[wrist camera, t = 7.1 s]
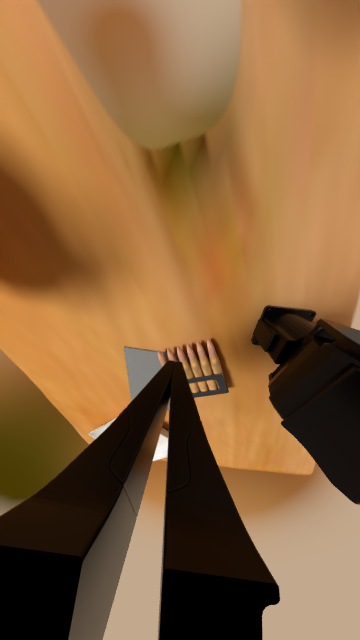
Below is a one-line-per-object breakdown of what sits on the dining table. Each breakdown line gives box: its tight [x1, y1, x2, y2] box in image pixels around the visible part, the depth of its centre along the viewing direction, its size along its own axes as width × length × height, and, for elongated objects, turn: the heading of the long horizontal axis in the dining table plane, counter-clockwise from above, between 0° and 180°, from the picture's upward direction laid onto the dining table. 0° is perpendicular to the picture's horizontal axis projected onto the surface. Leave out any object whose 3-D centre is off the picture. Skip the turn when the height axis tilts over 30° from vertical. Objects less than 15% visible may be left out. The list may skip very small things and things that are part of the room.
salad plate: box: [89, 417, 168, 461], centre depth 39 cm, size 21×21×3 cm
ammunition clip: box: [158, 339, 229, 398], centre depth 25 cm, size 11×2×12 cm
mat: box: [124, 347, 191, 410], centre depth 29 cm, size 13×18×1 cm
